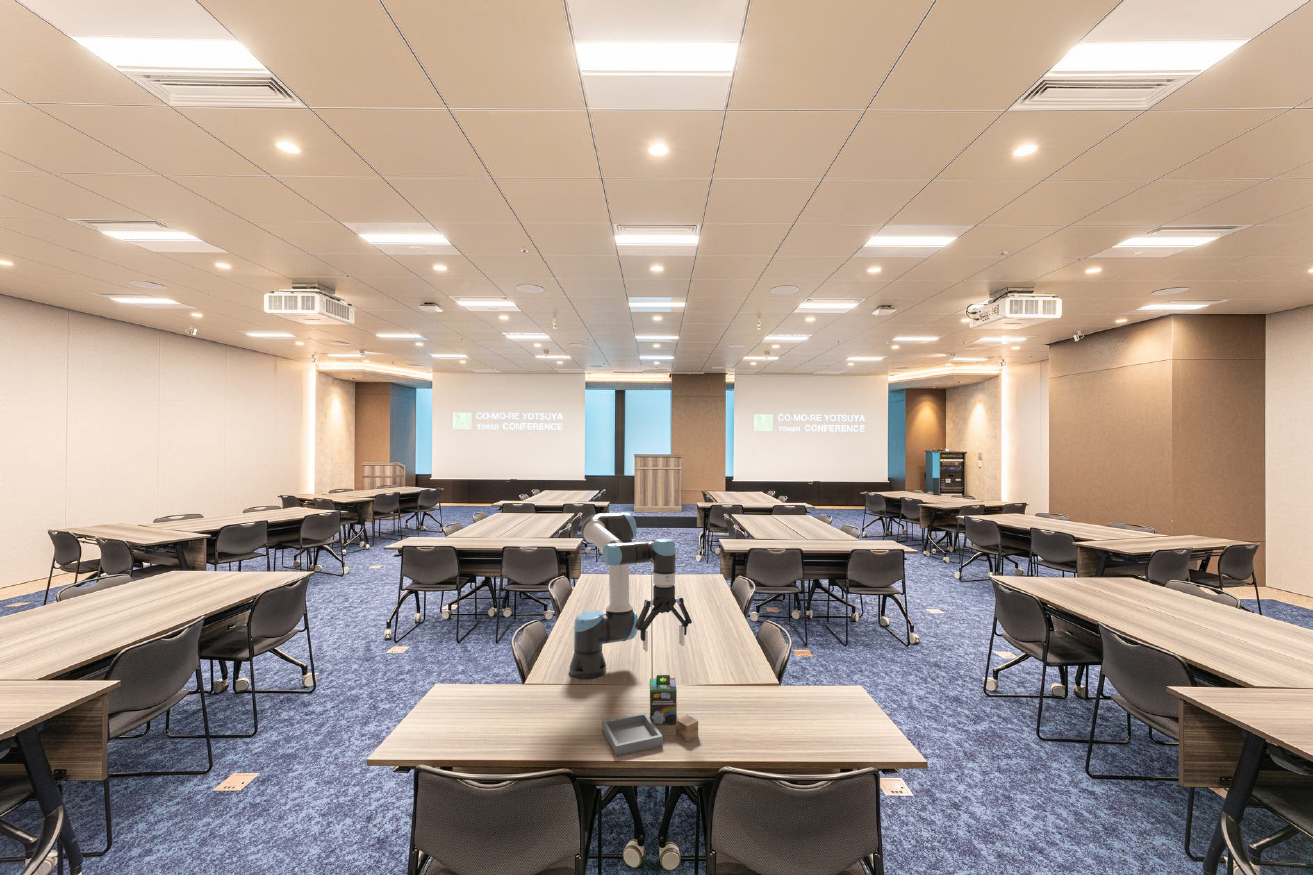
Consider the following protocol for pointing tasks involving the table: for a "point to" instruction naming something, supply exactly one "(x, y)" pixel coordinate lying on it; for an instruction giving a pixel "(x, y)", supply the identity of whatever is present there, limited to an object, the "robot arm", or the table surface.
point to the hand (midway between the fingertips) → (663, 647)
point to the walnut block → (687, 728)
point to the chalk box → (663, 700)
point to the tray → (631, 734)
